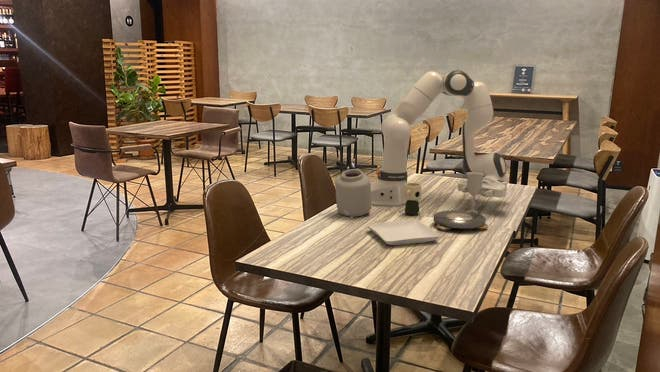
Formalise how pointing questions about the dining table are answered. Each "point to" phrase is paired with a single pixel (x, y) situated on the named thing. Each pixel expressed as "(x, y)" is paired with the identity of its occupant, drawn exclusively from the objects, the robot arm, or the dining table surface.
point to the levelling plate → (459, 220)
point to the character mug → (412, 197)
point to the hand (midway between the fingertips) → (474, 192)
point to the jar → (353, 193)
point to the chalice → (474, 186)
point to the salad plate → (403, 232)
